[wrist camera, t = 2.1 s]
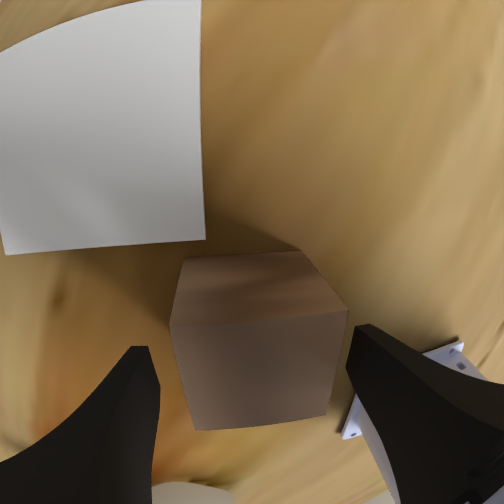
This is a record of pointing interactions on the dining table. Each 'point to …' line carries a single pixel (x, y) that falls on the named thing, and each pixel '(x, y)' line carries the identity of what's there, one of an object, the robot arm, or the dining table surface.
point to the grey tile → (103, 131)
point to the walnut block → (255, 339)
